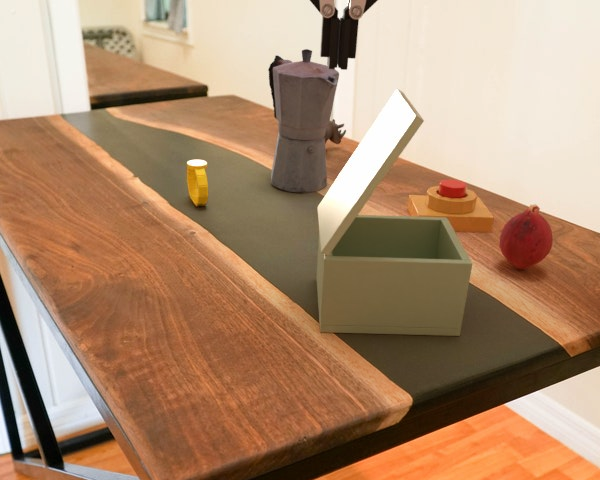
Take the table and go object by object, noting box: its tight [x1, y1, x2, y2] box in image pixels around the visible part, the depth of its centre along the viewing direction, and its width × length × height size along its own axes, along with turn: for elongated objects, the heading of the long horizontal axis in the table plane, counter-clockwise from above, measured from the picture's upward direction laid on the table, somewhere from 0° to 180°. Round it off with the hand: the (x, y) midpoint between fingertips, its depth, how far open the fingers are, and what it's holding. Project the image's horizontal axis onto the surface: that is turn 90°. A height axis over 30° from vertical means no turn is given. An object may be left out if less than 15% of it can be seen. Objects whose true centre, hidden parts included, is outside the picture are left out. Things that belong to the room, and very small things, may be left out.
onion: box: [499, 204, 554, 271], centre depth 76 cm, size 6×6×8 cm
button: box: [438, 179, 468, 199], centre depth 89 cm, size 4×4×2 cm
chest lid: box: [316, 88, 425, 256], centre depth 62 cm, size 14×12×1 cm
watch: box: [186, 159, 209, 207], centre depth 92 cm, size 6×3×6 cm, turn 24°
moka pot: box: [267, 48, 340, 194], centre depth 98 cm, size 10×15×20 cm, turn 42°
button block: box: [407, 185, 495, 233], centre depth 90 cm, size 10×8×4 cm
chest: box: [316, 214, 473, 337], centre depth 67 cm, size 14×12×8 cm
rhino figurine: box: [324, 118, 347, 145], centre depth 117 cm, size 4×14×6 cm, turn 129°
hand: (336, 66), depth 57 cm, fingers closed
